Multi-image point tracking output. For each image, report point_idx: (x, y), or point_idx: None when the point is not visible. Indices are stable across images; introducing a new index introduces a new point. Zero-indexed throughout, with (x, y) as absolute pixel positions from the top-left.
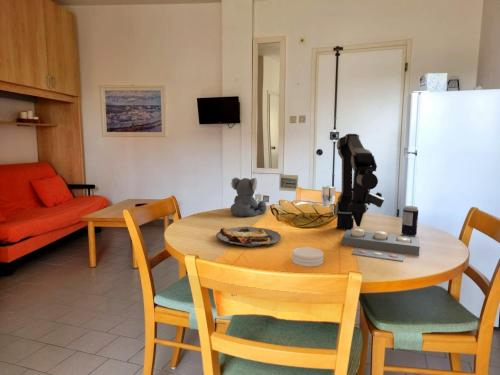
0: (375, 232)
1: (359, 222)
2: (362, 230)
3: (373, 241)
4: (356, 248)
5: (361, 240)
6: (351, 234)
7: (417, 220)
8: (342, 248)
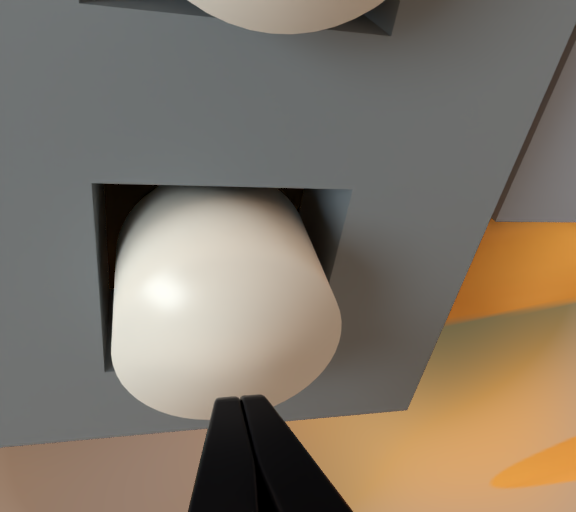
0: (315, 2)
1: (314, 487)
2: (224, 287)
3: (568, 18)
4: (521, 201)
5: (486, 204)
6: None
7: None
8: (488, 311)
